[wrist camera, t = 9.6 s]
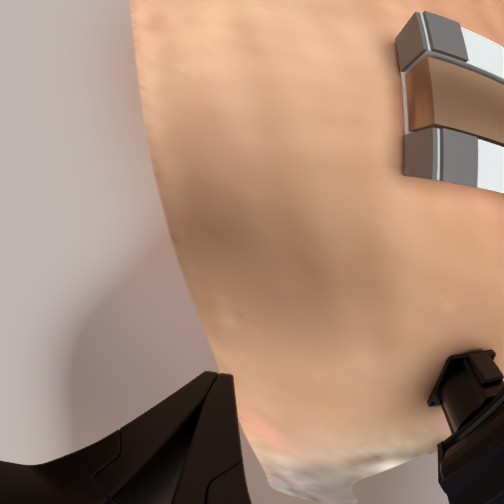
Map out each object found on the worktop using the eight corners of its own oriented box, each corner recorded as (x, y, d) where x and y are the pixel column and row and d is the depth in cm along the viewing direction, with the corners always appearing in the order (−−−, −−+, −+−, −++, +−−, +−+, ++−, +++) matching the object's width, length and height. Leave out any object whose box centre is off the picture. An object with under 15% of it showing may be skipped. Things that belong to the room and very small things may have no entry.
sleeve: (531, 200, 14) (577, 215, 8) (400, 175, 16) (442, 181, 10) (526, 91, 11) (569, 83, 5) (392, 42, 13) (422, 2, 7)
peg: (511, 157, 13) (543, 159, 9) (408, 130, 14) (434, 123, 11) (508, 108, 12) (538, 103, 8) (405, 75, 13) (427, 56, 10)
